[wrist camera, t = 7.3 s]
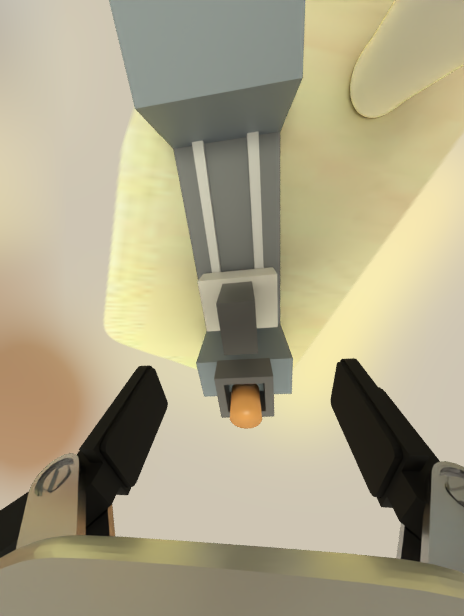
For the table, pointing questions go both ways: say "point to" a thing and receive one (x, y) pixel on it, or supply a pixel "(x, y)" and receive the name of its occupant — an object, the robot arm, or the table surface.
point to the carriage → (239, 306)
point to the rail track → (222, 145)
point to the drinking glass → (408, 54)
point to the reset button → (245, 405)
